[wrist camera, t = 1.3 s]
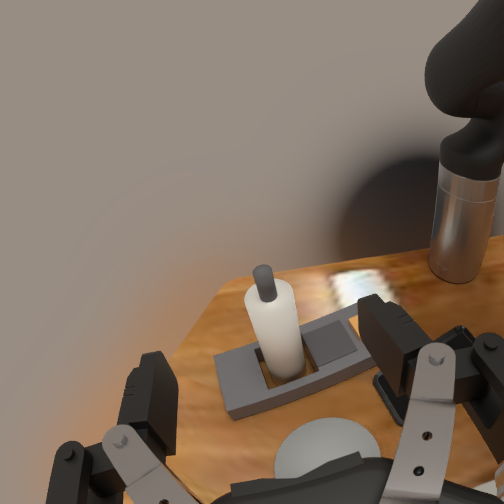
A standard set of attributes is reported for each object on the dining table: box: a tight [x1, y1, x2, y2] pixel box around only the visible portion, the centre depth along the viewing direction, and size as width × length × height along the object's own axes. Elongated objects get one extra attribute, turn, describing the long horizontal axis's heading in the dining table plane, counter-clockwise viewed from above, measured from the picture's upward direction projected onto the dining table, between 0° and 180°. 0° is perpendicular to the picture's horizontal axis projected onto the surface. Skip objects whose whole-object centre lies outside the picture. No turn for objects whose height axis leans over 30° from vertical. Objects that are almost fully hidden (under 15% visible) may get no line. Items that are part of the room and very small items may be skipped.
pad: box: [274, 418, 381, 479], centre depth 25 cm, size 11×11×1 cm
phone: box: [373, 325, 475, 427], centre depth 30 cm, size 8×1×15 cm
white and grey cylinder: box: [244, 265, 307, 386], centre depth 31 cm, size 4×4×17 cm
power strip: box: [214, 303, 377, 421], centre depth 35 cm, size 20×8×4 cm, turn 105°
